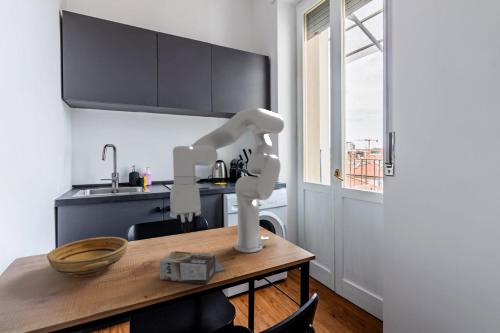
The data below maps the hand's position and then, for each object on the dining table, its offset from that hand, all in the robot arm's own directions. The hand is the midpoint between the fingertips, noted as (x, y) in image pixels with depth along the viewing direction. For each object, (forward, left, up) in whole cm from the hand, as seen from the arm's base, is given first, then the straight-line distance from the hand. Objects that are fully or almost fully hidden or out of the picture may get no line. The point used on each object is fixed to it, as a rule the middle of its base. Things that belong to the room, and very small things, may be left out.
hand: (186, 231), depth 89 cm
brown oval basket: (+31, -14, -14) cm, 37 cm away
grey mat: (-3, 0, -13) cm, 14 cm away
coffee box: (+7, +2, -10) cm, 12 cm away
